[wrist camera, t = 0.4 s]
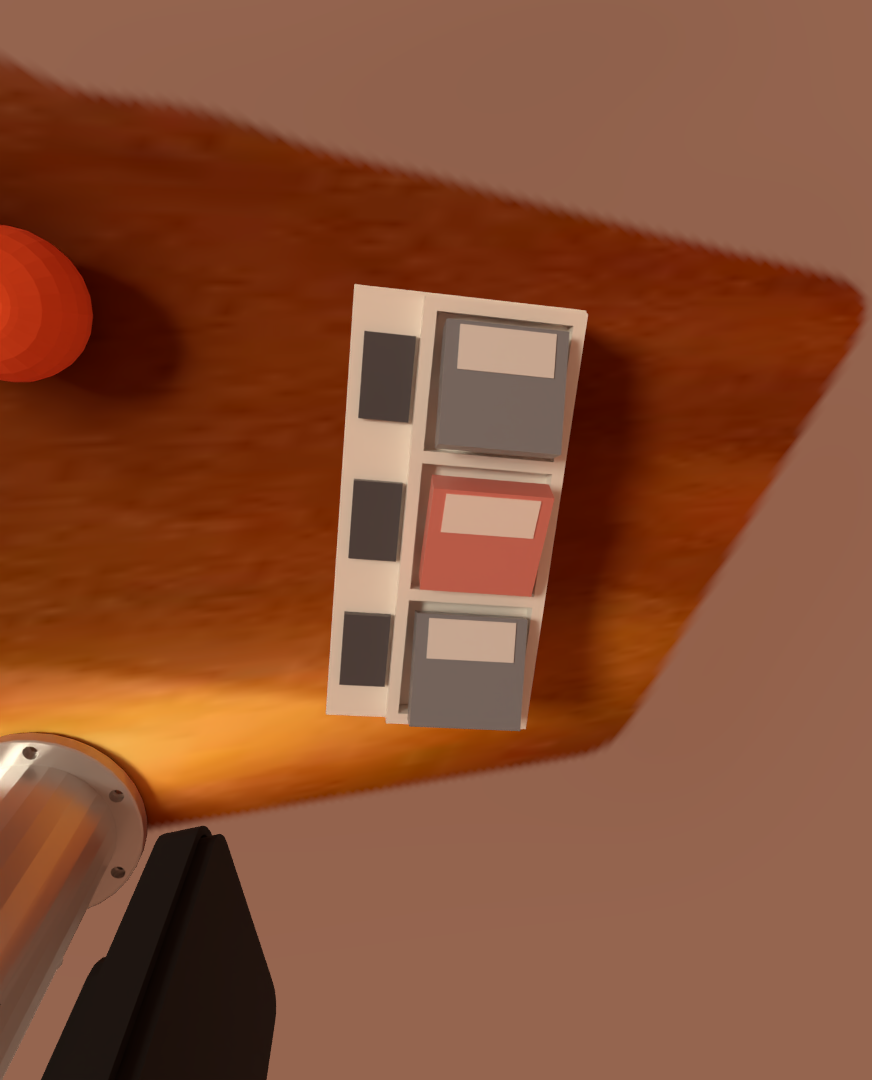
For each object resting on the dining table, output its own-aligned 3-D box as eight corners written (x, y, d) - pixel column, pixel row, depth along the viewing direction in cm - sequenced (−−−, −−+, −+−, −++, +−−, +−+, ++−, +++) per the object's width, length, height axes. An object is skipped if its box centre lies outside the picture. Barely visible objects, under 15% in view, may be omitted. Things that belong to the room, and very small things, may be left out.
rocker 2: (513, 723, 37) (520, 731, 35) (407, 719, 36) (409, 726, 34) (521, 616, 37) (528, 620, 35) (415, 610, 36) (417, 613, 35)
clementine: (61, 422, 37) (-8, 439, 30) (-65, 341, 36) (-168, 340, 29) (139, 295, 36) (86, 283, 29) (12, 205, 34) (-76, 170, 27)
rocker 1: (552, 458, 33) (561, 454, 32) (434, 448, 32) (438, 444, 31) (560, 340, 33) (569, 331, 32) (443, 327, 32) (447, 317, 31)
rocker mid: (526, 580, 36) (531, 597, 35) (418, 573, 36) (419, 590, 34) (548, 484, 33) (554, 499, 32) (431, 474, 33) (433, 489, 31)
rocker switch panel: (507, 681, 44) (528, 732, 38) (330, 672, 43) (324, 724, 37) (559, 314, 38) (593, 309, 32) (356, 291, 37) (354, 282, 31)
